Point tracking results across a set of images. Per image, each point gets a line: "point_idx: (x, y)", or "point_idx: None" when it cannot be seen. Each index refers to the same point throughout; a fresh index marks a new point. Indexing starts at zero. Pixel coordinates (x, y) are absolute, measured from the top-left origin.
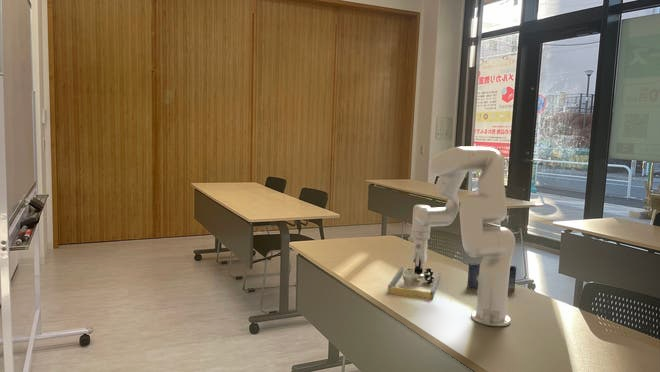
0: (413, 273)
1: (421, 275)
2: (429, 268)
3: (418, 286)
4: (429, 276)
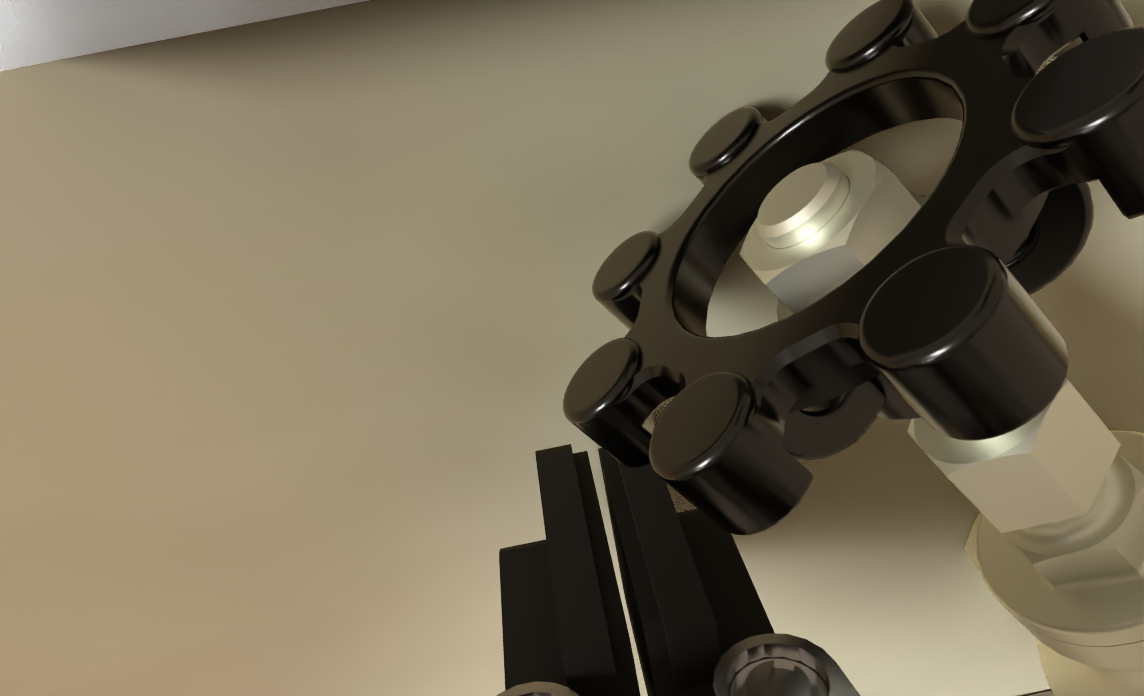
0: (1132, 659)
1: (1097, 424)
2: (1043, 356)
3: (1111, 291)
4: (895, 185)
